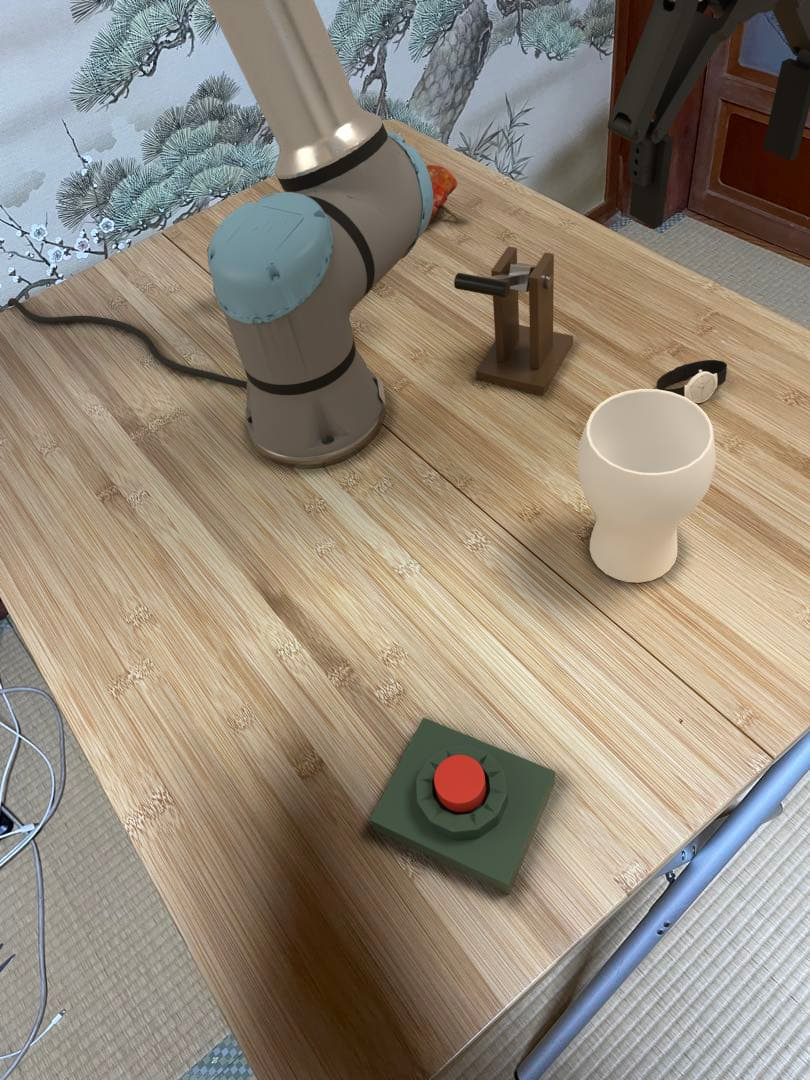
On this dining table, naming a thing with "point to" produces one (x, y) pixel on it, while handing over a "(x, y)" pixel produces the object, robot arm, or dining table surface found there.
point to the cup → (643, 478)
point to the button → (460, 783)
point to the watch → (696, 379)
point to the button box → (474, 836)
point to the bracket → (525, 333)
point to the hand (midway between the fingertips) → (714, 186)
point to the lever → (497, 281)
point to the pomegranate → (441, 188)
